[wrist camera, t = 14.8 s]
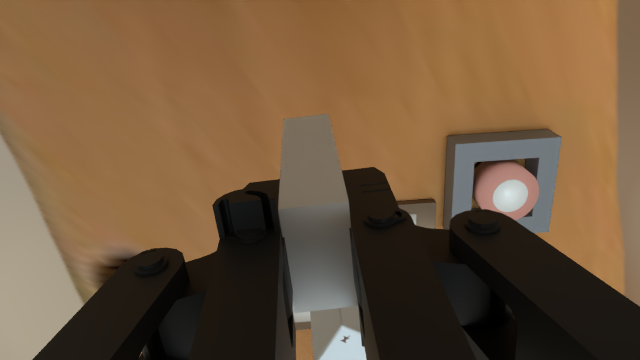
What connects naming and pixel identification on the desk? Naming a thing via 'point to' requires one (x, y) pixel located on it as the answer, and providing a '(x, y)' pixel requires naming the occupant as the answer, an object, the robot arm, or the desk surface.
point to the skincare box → (337, 334)
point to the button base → (481, 147)
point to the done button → (505, 188)
